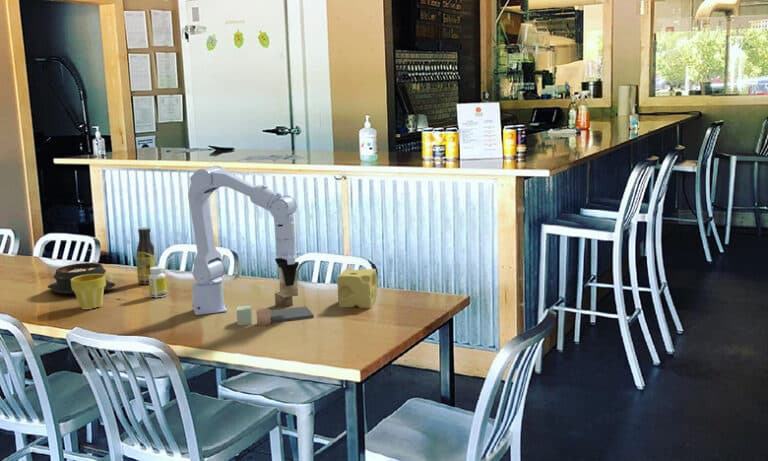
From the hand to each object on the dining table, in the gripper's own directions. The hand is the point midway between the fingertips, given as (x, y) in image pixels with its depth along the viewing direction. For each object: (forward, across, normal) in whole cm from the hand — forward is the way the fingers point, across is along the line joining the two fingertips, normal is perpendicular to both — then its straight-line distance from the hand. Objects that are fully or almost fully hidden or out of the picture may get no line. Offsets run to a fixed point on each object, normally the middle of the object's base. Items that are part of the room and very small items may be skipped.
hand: (288, 283), depth 232 cm
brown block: (+10, -5, +8) cm, 14 cm away
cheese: (+10, +4, -22) cm, 25 cm away
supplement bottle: (+10, +41, +36) cm, 55 cm away
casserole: (+10, +61, +61) cm, 87 cm away
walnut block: (+10, +12, 0) cm, 16 cm away
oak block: (+3, 0, 0) cm, 3 cm away
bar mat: (+10, 0, 0) cm, 10 cm away
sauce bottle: (+10, +62, +39) cm, 74 cm away
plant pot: (+10, +37, +57) cm, 69 cm away
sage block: (+10, -2, +14) cm, 17 cm away
